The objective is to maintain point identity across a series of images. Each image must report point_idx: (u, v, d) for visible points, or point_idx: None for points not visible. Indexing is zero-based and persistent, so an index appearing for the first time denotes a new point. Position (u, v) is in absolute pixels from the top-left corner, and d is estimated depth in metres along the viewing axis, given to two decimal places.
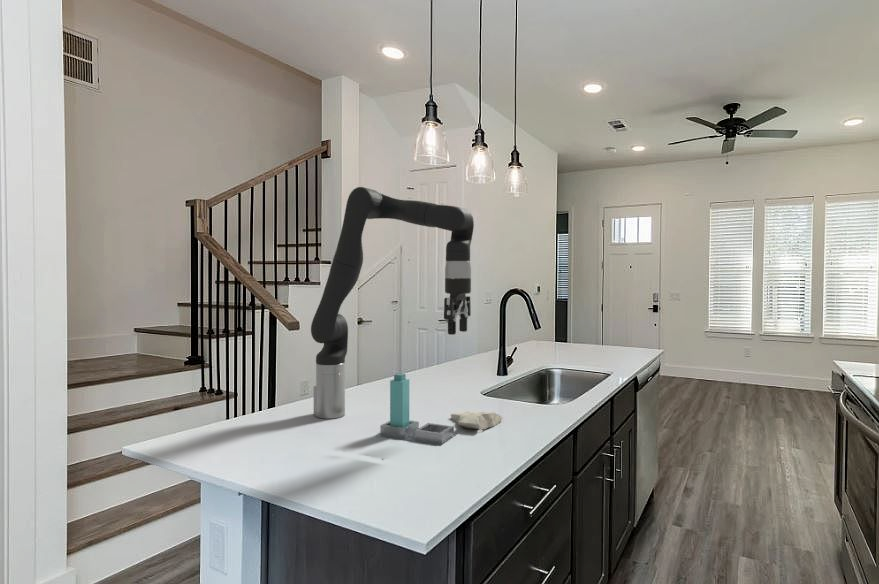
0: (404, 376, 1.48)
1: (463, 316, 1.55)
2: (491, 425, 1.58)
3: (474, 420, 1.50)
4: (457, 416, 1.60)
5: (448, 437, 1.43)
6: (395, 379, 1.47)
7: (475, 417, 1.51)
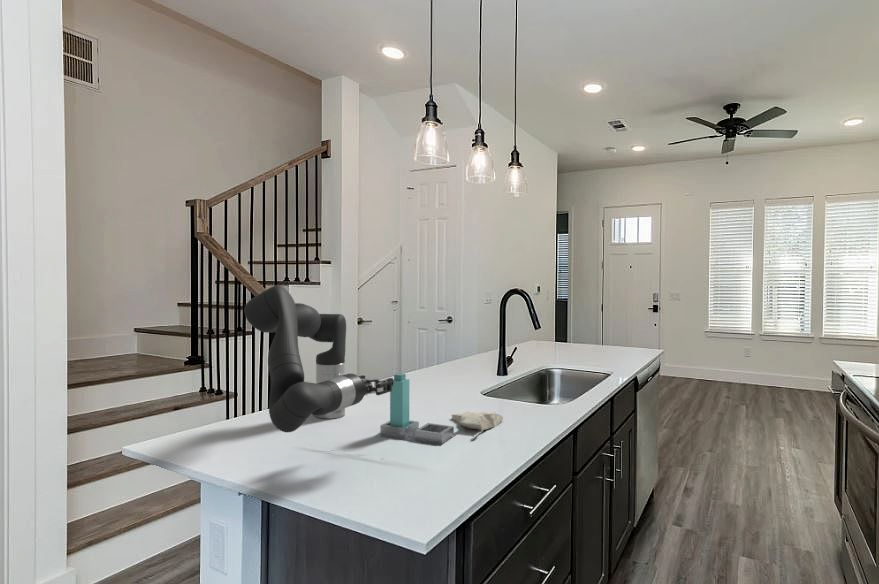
0: (404, 376, 1.48)
1: None
2: (492, 425, 1.57)
3: (476, 420, 1.49)
4: (458, 416, 1.59)
5: (448, 437, 1.43)
6: (395, 379, 1.47)
7: (477, 417, 1.51)
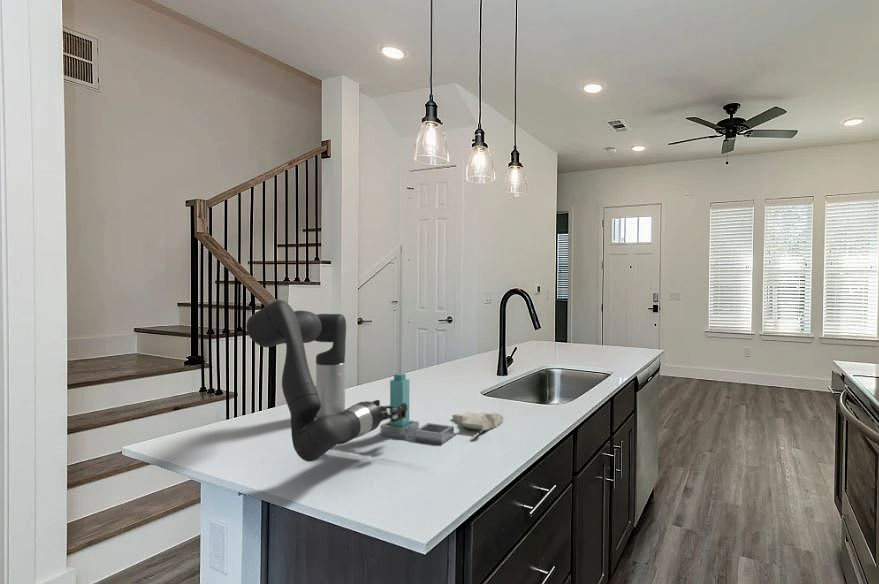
0: (404, 376, 1.48)
1: None
2: (493, 426, 1.57)
3: (478, 421, 1.49)
4: (459, 417, 1.59)
5: (448, 437, 1.43)
6: (395, 379, 1.47)
7: (478, 418, 1.51)
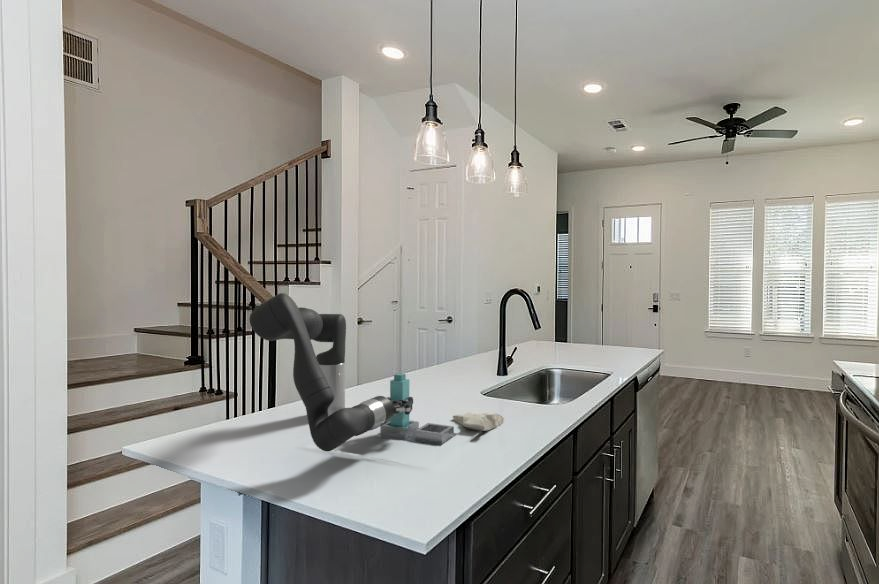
0: (404, 376, 1.48)
1: None
2: (494, 426, 1.57)
3: (479, 421, 1.48)
4: (460, 417, 1.58)
5: (448, 437, 1.43)
6: (395, 379, 1.47)
7: (479, 418, 1.50)
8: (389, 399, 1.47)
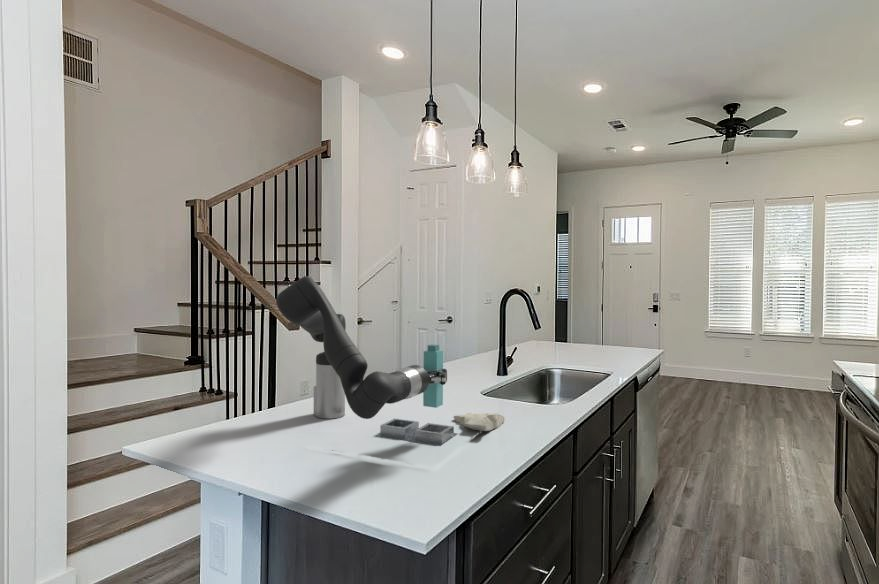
0: (438, 347, 1.43)
1: None
2: (495, 426, 1.56)
3: (481, 421, 1.48)
4: (461, 418, 1.58)
5: (448, 437, 1.43)
6: (429, 350, 1.42)
7: (481, 418, 1.50)
8: None
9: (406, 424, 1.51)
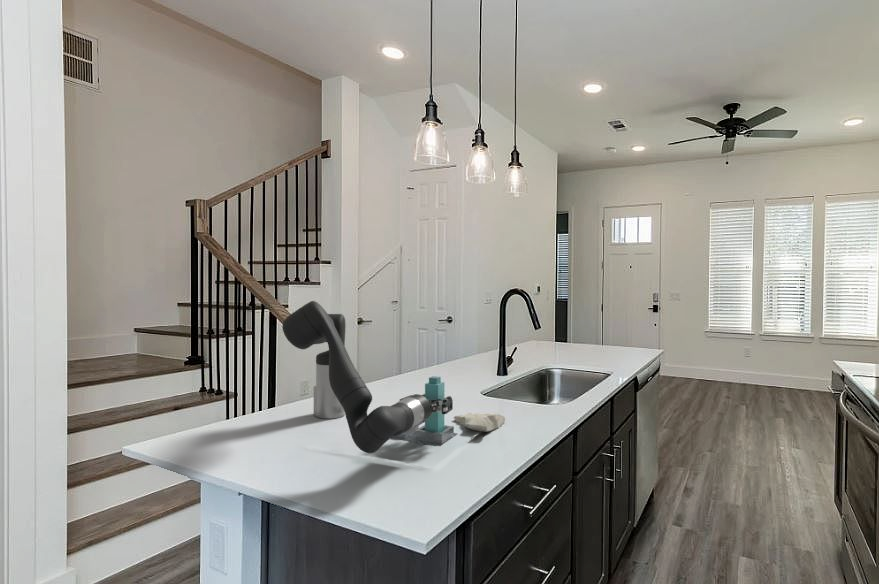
0: (439, 379, 1.43)
1: None
2: (496, 427, 1.56)
3: (481, 422, 1.48)
4: (461, 418, 1.57)
5: (448, 437, 1.43)
6: (430, 382, 1.43)
7: (482, 419, 1.49)
8: None
9: None
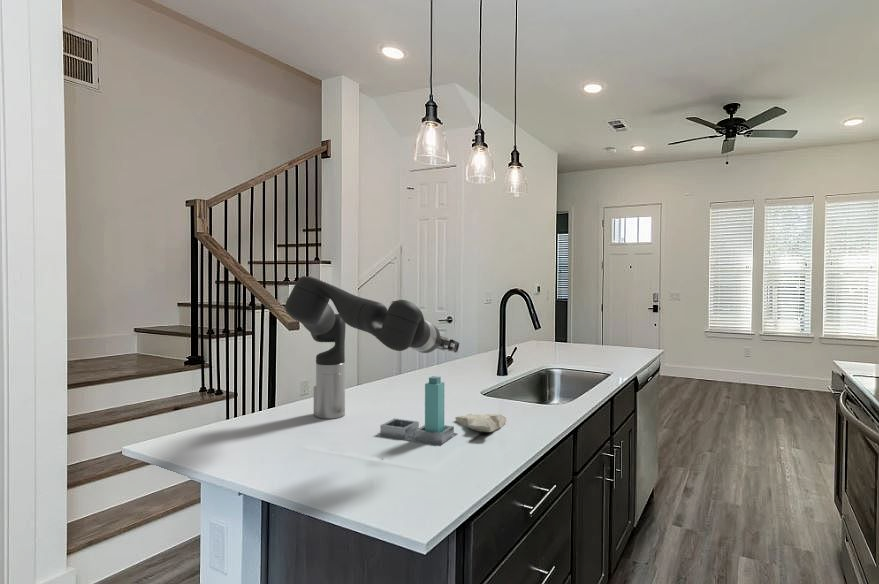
0: (439, 379, 1.43)
1: None
2: (498, 427, 1.56)
3: (485, 422, 1.47)
4: (463, 419, 1.57)
5: (448, 437, 1.43)
6: (430, 382, 1.43)
7: (485, 419, 1.49)
8: None
9: (406, 424, 1.51)
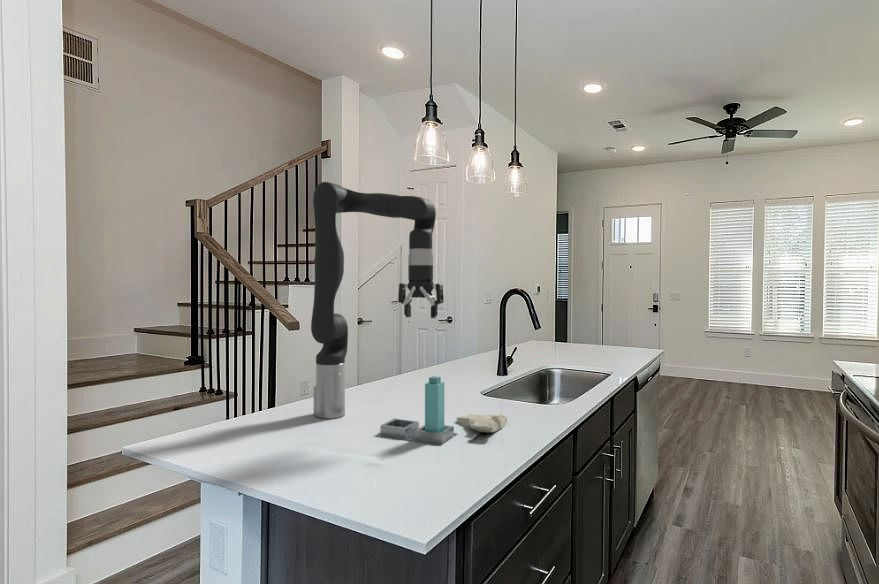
0: (439, 379, 1.43)
1: None
2: (500, 427, 1.55)
3: (487, 423, 1.47)
4: (465, 419, 1.56)
5: (448, 437, 1.43)
6: (430, 382, 1.43)
7: (487, 420, 1.48)
8: (411, 300, 1.61)
9: (406, 424, 1.51)
